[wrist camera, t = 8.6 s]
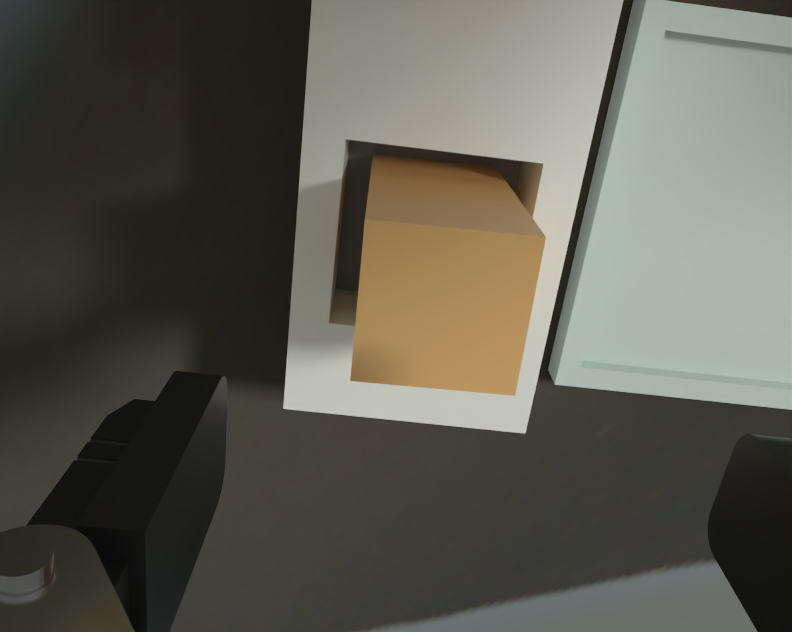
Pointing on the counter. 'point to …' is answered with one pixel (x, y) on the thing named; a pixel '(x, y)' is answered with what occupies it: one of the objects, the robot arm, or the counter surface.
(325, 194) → the power strip
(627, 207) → the tray
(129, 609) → the robot arm
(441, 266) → the plug
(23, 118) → the counter surface
